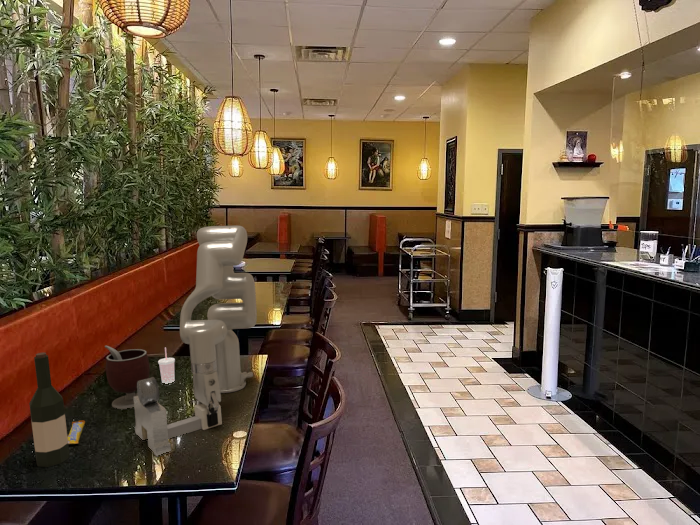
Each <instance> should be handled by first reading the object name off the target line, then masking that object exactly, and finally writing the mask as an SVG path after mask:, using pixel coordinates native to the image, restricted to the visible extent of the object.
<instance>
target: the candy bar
mask: <svg viewBox="0 0 700 525" xmlns="http://www.w3.org/2000/svg"><path fill="white" fill-rule="evenodd" d="M85 424H86V421H85V420H78V421H72V422H71V428H70V430H69V433H68V434H67V437H68V445H76V444H79V441H80V439H81V435H82V432H83V430H84V426H85Z"/></svg>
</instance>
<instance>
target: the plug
mask: <svg viewBox="0 0 700 525" xmlns="http://www.w3.org/2000/svg"><path fill="white" fill-rule="evenodd" d="M210 403H212V401H211V402H209V404H210ZM193 407H194V415H195V416H192V417H188V418H185V419H181V420H179V421H175V422H172V423H167V429H168V439H169V440H171V439H170V438H172V437H175V438H177V437H176V436H178V437H180V436H179V435H181V436H184V435H186V433H187V434H190V433H193V432H195V431H199V430H203V431H205V430H209V429H211V428H214V427H217V426H220V425H222V424H223V421H222V420H223V419H222V408H221V407H222V406H221V405H220V404H219V408H218V413H217V414H218V424H217V425H214V426H211V427H208V424H207V414H208V411H207V407H206V405H204V404H203V403H202V404H198V405H197V404H195V405H194V406H193ZM212 407H213V405H211V406H210V409H211V408H212ZM183 434H184V435H183ZM172 439H173V438H172Z"/></svg>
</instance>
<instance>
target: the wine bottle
mask: <svg viewBox="0 0 700 525" xmlns="http://www.w3.org/2000/svg"><path fill="white" fill-rule="evenodd" d="M34 368H35V377H36V383H37V388H36V389H35V392H34V394H33V396H32V397H31V399H30V400H29V401H30V402H29V403H28V404H29V412H30V419H31V420H30V422H31V429H32V435H33V445H34V453H35V460H36V461H35V462H36V465H37V467H42V468H49V467H53V466H56V465H59V464H60V465H61V464H63V463H64V462H65V461H67V460H68V459H69V458H70V457H71V456H70V448H69V444H68V431H67V430H68V429H67V421H66V412H65V411H66V410H65V404H64V398H63V396H62V395H61V394H60V393H59V391H58V390H57V389H56V387H54V386H53V385H52V379H51V378H52V377H51V370H50V361H49V355H48V354H47V352H38V353H36V354H35V356H34Z"/></svg>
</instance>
